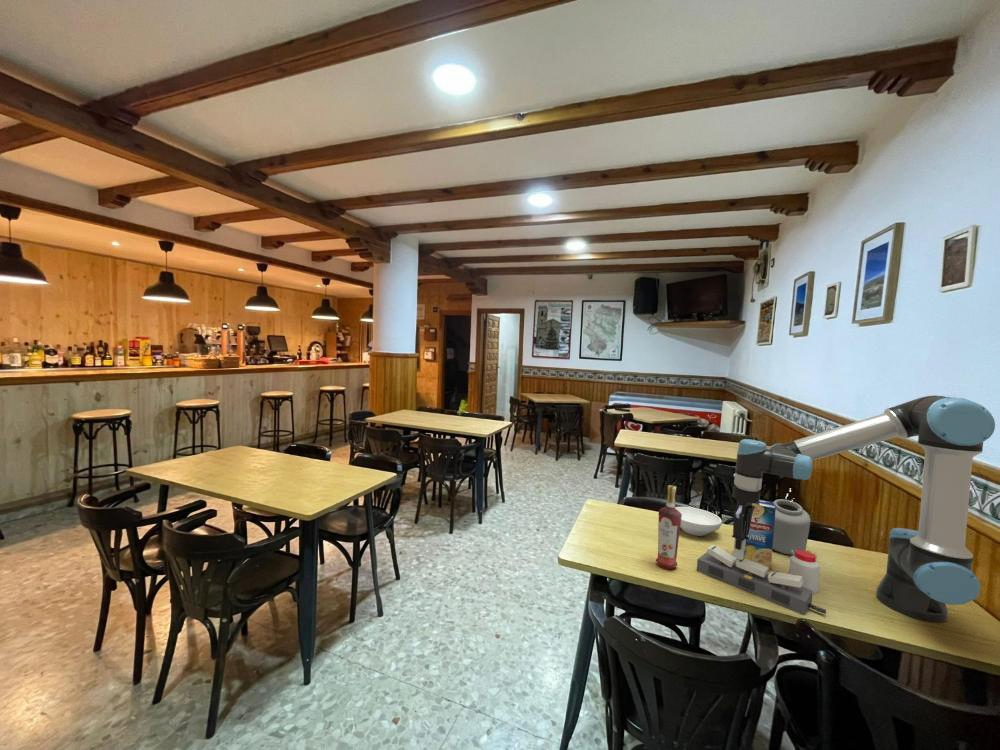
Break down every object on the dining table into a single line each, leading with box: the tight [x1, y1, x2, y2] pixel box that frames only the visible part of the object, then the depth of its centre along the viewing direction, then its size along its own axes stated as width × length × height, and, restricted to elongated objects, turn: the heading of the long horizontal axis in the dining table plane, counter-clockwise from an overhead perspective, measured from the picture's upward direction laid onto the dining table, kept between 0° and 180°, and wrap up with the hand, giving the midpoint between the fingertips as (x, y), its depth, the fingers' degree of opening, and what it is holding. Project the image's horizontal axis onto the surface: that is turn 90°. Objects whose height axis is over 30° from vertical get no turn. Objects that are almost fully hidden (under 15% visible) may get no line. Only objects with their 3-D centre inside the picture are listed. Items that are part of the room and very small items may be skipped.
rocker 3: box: [768, 571, 804, 588], centre depth 122 cm, size 8×4×2 cm, turn 42°
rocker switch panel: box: [696, 552, 827, 616], centre depth 128 cm, size 34×9×5 cm, turn 42°
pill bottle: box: [788, 549, 821, 594], centre depth 130 cm, size 8×8×11 cm
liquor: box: [655, 484, 682, 570], centre depth 139 cm, size 7×7×28 cm
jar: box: [772, 488, 811, 556], centre depth 156 cm, size 19×15×25 cm
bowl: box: [675, 506, 722, 537], centre depth 169 cm, size 20×20×7 cm
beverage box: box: [737, 499, 776, 571], centre depth 145 cm, size 7×11×22 cm, turn 61°
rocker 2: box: [736, 558, 770, 577], centre depth 129 cm, size 8×4×2 cm, turn 42°
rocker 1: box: [706, 544, 737, 567], centre depth 136 cm, size 8×4×2 cm, turn 42°
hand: (738, 557), depth 132 cm, fingers closed
